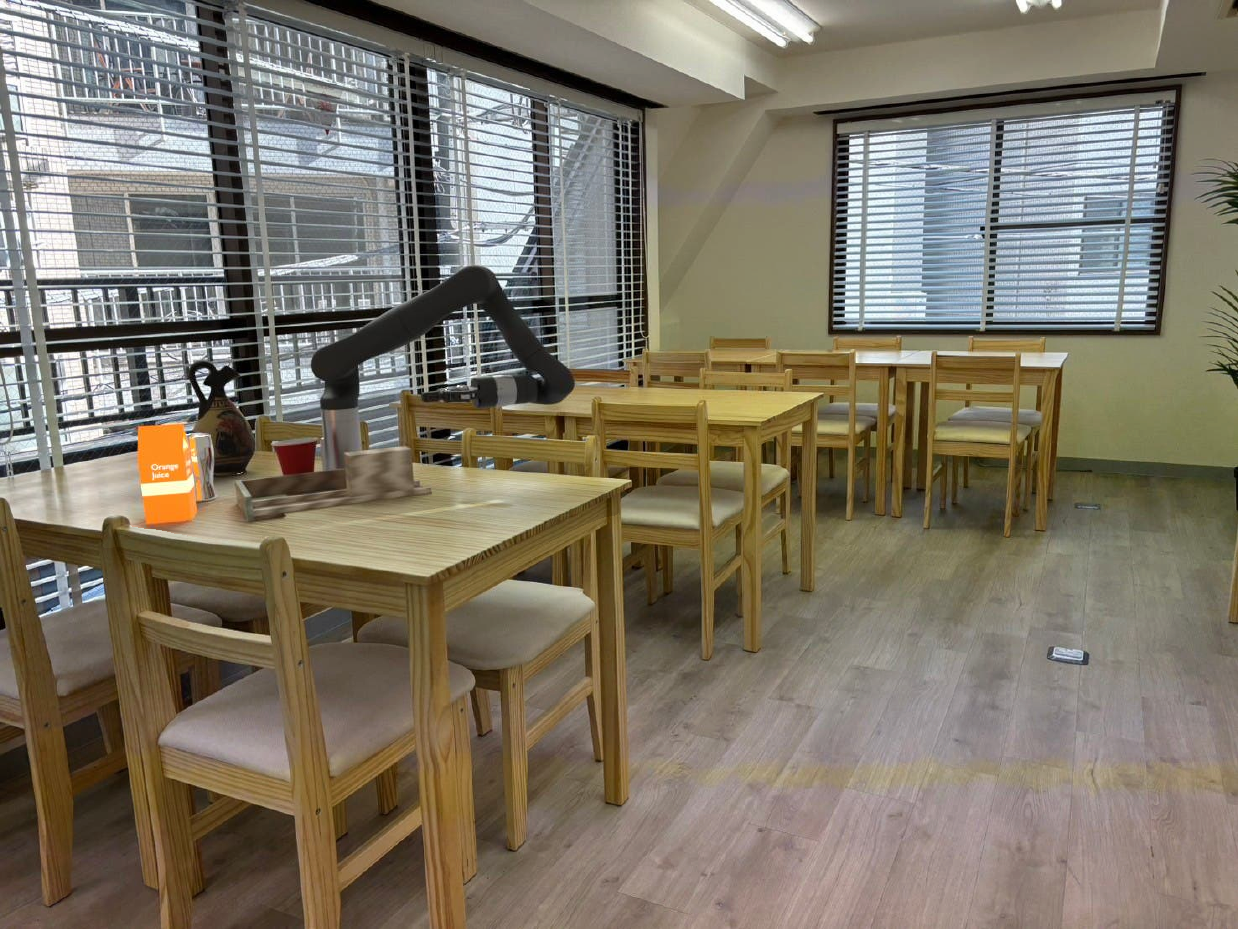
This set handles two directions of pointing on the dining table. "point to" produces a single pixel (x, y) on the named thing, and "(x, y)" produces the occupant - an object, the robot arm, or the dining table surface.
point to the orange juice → (166, 474)
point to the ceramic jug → (222, 421)
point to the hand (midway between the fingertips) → (422, 397)
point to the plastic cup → (296, 455)
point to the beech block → (379, 471)
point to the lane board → (307, 501)
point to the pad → (269, 497)
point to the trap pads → (317, 491)
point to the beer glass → (202, 465)
